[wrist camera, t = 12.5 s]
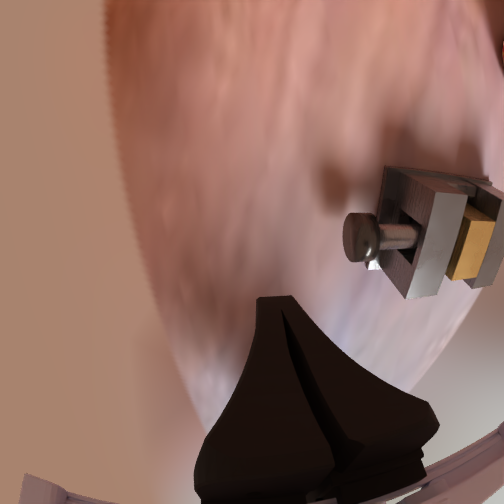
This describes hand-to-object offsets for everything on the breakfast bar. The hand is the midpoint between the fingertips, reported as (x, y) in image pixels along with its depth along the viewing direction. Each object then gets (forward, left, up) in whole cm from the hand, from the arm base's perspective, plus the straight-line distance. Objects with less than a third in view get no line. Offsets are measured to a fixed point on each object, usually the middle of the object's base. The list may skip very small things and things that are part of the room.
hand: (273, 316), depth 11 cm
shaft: (0, -13, -8) cm, 15 cm away
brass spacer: (0, -15, -9) cm, 17 cm away
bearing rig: (0, -15, -9) cm, 17 cm away
